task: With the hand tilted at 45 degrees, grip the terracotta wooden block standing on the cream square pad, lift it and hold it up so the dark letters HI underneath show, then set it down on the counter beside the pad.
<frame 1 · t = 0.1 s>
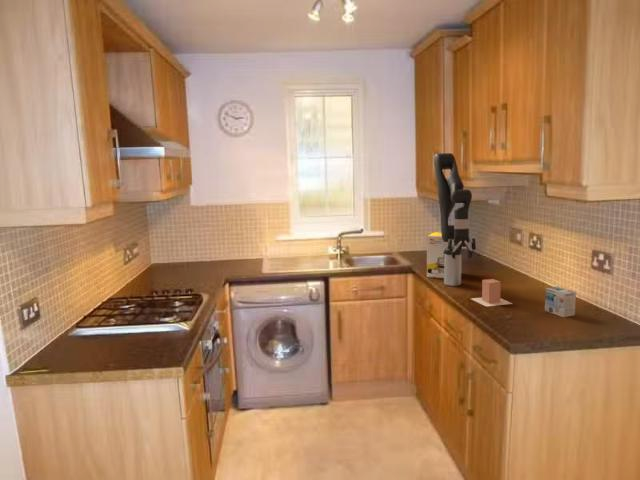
hand: (461, 258, 246), 17 cm above the worktop, tool pointing down, fingers open, 8 cm apart
cream square pad: (490, 302, 226), on the worktop
light bulb box: (559, 313, 206), on the worktop
terracotta block: (490, 300, 226), point 1 cm above the worktop, touching cream square pad
packaging box: (443, 275, 284), on the worktop
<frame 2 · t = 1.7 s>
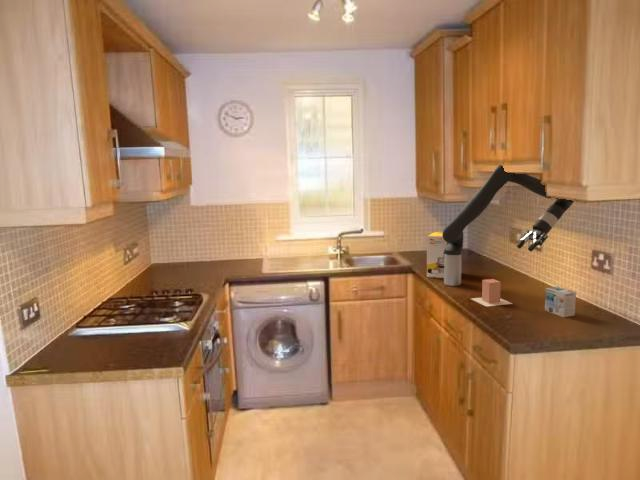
hand: (523, 248, 224), 25 cm above the worktop, tool tilted 45°, fingers open, 8 cm apart
nothing on the worktop moved.
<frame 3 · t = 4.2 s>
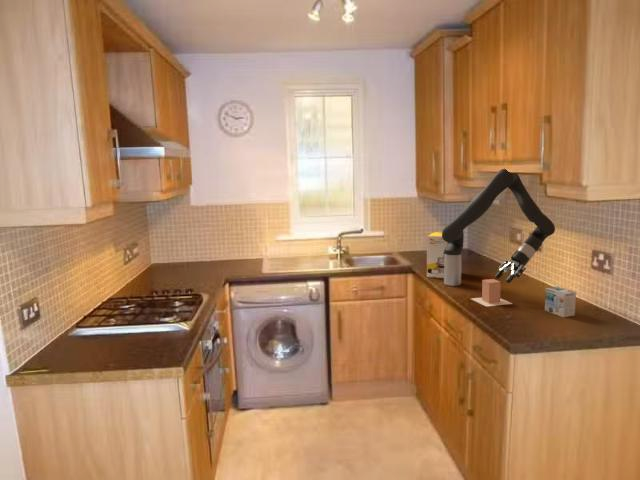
hand: (501, 279, 225), 11 cm above the worktop, tool tilted 45°, fingers open, 8 cm apart
nothing on the worktop moved.
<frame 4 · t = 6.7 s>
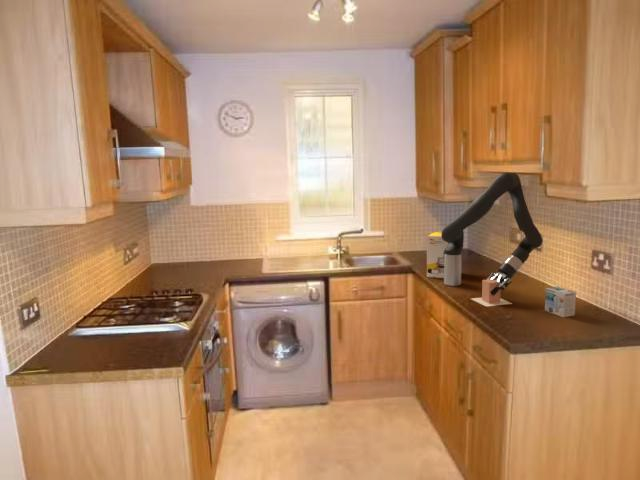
hand: (488, 292, 225), 5 cm above the worktop, tool tilted 45°, fingers closed on terracotta block, 6 cm apart
terracotta block: (490, 300, 226), point 1 cm above the worktop, touching cream square pad, gripper
everything else where it was.
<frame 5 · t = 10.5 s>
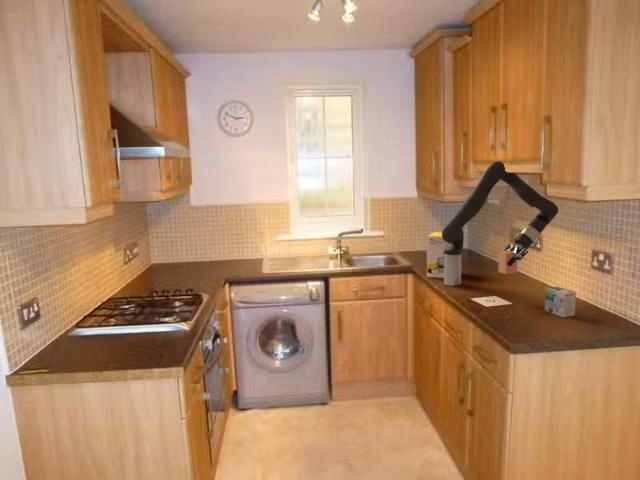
hand: (504, 263, 223), 19 cm above the worktop, tool tilted 45°, fingers closed on terracotta block, 6 cm apart
terracotta block: (507, 272, 224), point 14 cm above the worktop, touching gripper
everything else where it was.
when the fingers open (6 cm above the worktop, at t = 14.2 s): terracotta block drops 1 cm, on the worktop.
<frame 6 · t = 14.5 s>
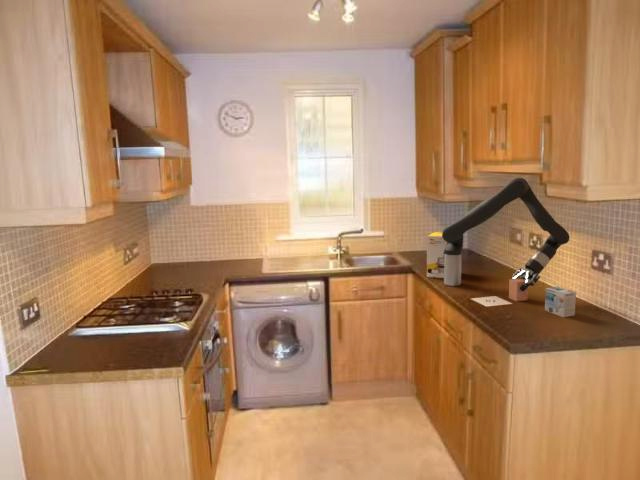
hand: (515, 288, 226), 6 cm above the worktop, tool tilted 45°, fingers open, 8 cm apart
terracotta block: (518, 300, 228), on the worktop
everything else where it was.
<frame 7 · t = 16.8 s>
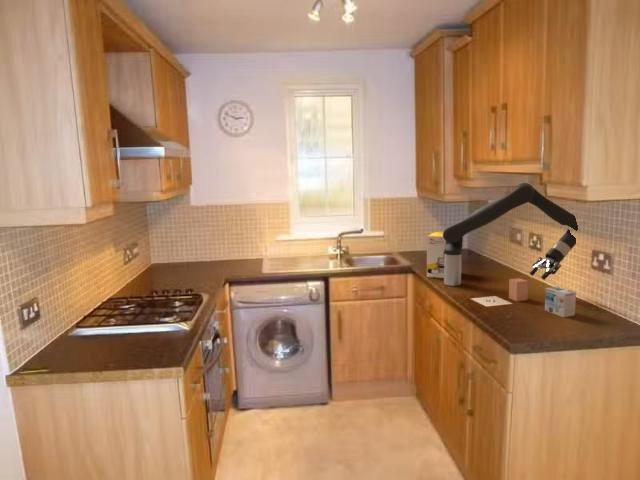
hand: (536, 276, 229), 11 cm above the worktop, tool tilted 45°, fingers open, 8 cm apart
nothing on the worktop moved.
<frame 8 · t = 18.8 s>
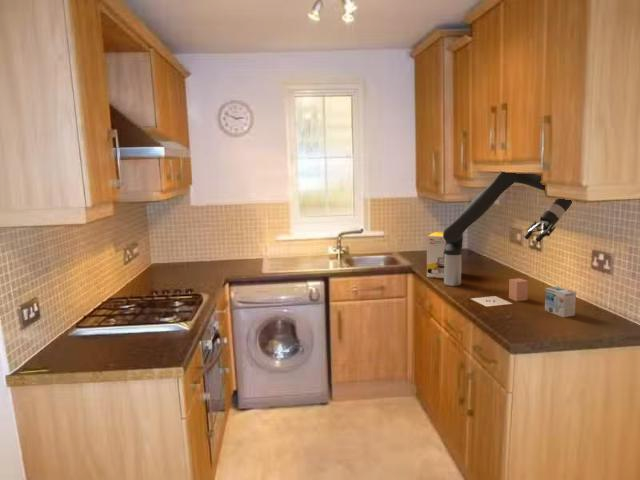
hand: (531, 239, 229), 29 cm above the worktop, tool tilted 45°, fingers open, 8 cm apart
nothing on the worktop moved.
at the end: terracotta block inside the target area (1.0 cm from its centre), on the worktop; terracotta block tilted 0°; the gripper is holding nothing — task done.
